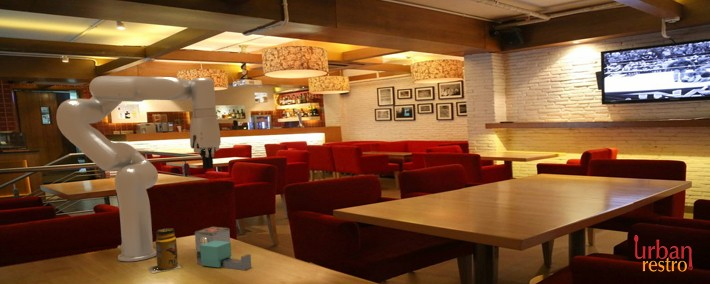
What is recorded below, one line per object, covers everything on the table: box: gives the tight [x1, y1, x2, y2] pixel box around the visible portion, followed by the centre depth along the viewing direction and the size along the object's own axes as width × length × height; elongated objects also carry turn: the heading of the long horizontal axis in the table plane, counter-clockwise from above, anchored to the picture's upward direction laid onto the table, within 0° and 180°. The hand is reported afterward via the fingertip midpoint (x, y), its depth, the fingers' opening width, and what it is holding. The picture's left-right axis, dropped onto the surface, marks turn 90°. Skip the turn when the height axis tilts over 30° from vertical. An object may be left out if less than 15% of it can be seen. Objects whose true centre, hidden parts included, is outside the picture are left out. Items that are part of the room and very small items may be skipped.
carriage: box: [200, 241, 232, 268], centre depth 151 cm, size 7×6×6 cm
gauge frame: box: [194, 226, 231, 256], centre depth 165 cm, size 8×8×8 cm
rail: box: [196, 251, 252, 271], centre depth 150 cm, size 19×3×4 cm, turn 62°
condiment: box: [148, 227, 182, 274], centre depth 150 cm, size 7×8×12 cm
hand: (208, 168), depth 164 cm, fingers closed
